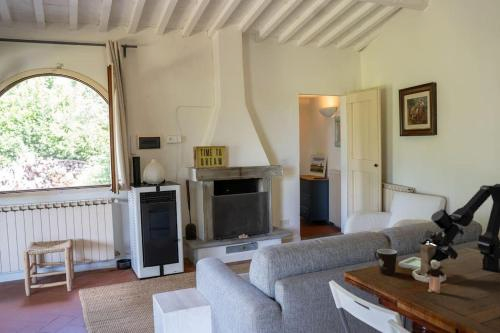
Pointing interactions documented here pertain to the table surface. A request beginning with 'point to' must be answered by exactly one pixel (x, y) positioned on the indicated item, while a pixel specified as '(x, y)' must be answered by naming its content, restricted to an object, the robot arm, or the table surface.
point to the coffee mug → (386, 261)
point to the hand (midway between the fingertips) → (425, 263)
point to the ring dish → (422, 278)
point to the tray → (411, 263)
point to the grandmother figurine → (434, 277)
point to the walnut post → (426, 257)
